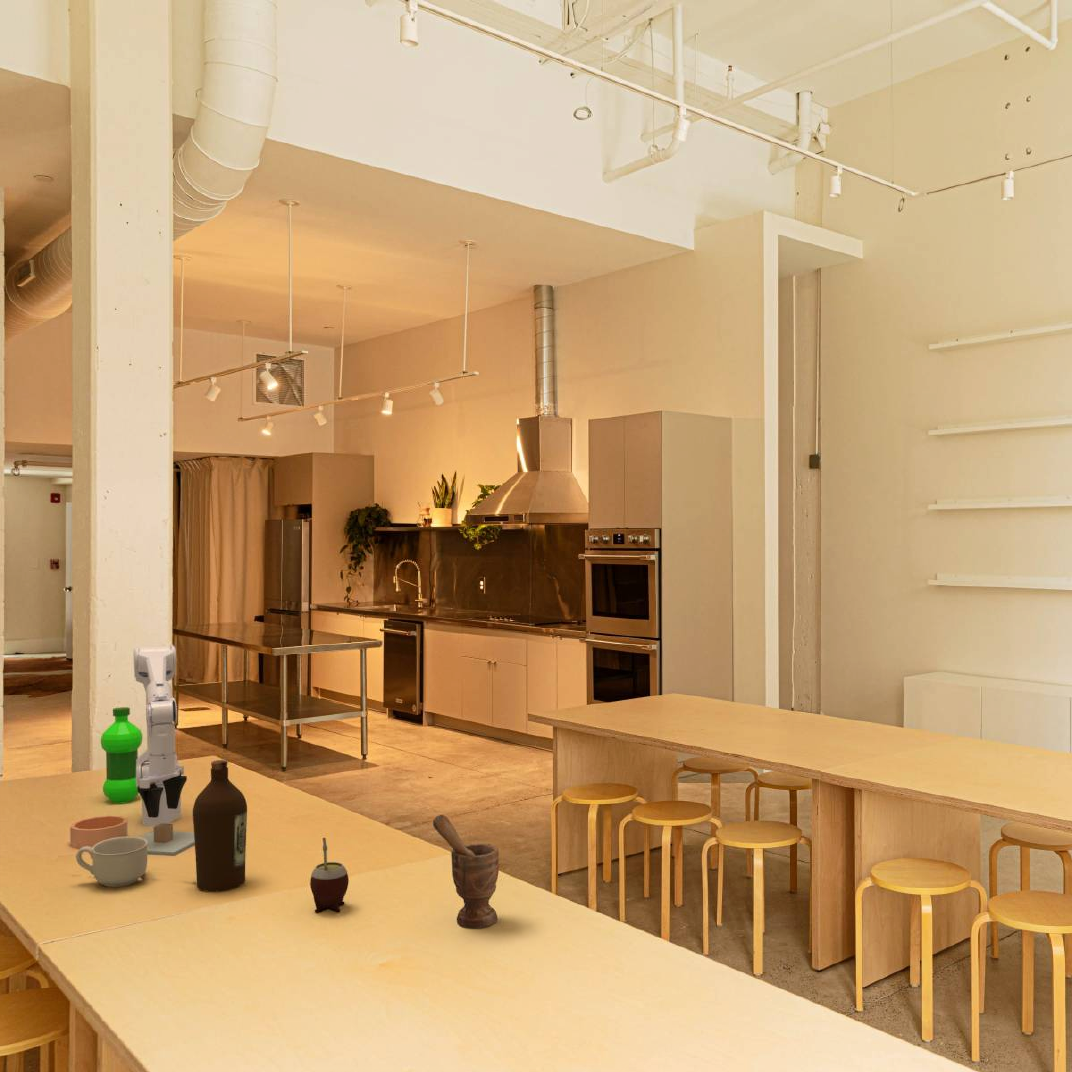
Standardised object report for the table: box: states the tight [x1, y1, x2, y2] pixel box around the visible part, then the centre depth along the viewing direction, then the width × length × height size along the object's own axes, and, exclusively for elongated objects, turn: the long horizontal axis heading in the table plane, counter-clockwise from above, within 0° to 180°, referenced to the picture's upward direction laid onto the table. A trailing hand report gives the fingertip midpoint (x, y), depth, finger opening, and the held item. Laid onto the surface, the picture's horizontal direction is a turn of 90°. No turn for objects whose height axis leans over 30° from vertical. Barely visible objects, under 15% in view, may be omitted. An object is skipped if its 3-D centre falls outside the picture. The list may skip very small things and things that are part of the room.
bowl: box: [69, 815, 129, 849], centre depth 240 cm, size 12×12×5 cm
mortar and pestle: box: [432, 814, 500, 929], centre depth 187 cm, size 12×9×20 cm
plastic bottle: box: [100, 706, 143, 804], centre depth 280 cm, size 10×10×25 cm
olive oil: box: [192, 759, 248, 893], centre depth 210 cm, size 11×11×25 cm
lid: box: [139, 823, 195, 856], centre depth 237 cm, size 15×15×4 cm
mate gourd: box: [309, 837, 350, 914], centre depth 195 cm, size 8×8×15 cm
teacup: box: [75, 835, 148, 888], centre depth 213 cm, size 14×11×8 cm
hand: (163, 812), depth 237 cm, fingers open, 7 cm apart
